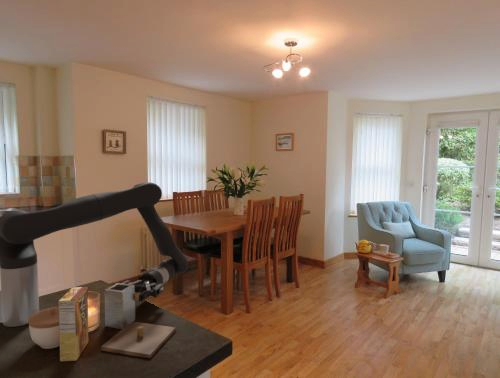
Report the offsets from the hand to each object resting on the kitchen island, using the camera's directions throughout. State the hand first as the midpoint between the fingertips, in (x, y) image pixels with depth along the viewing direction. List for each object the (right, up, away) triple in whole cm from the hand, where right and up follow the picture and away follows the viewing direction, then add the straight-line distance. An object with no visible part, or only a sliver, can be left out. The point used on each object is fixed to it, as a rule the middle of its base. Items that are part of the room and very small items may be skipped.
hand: (127, 297), depth 103 cm
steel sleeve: (-1, -7, -3) cm, 8 cm away
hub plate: (+8, -8, -13) cm, 17 cm away
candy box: (-7, -8, -18) cm, 21 cm away
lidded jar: (-15, -8, -14) cm, 22 cm away
